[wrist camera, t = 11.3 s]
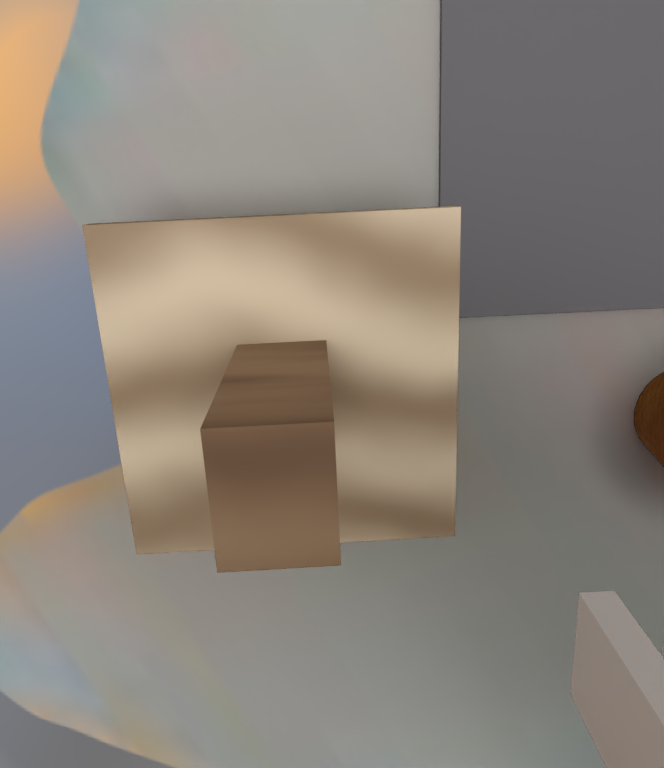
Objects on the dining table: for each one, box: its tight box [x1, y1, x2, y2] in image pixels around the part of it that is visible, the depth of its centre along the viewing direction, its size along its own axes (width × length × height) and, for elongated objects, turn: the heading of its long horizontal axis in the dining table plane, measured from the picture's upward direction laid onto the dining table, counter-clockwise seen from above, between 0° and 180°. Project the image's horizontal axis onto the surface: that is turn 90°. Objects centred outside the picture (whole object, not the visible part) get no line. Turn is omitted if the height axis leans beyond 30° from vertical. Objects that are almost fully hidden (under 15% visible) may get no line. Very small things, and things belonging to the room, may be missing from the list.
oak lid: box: [82, 206, 461, 573], centre depth 25 cm, size 16×16×11 cm
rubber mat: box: [439, 0, 664, 318], centre depth 36 cm, size 18×18×1 cm
